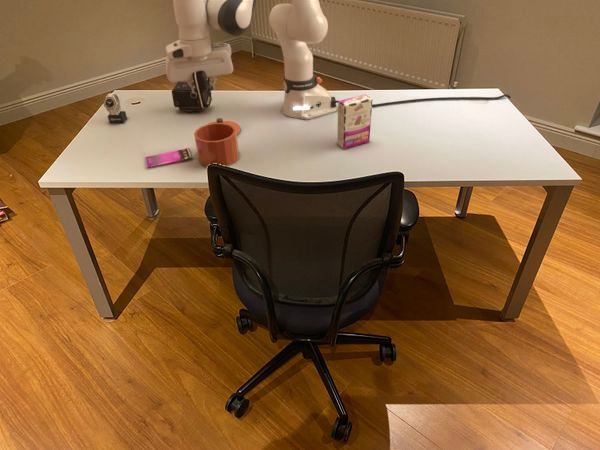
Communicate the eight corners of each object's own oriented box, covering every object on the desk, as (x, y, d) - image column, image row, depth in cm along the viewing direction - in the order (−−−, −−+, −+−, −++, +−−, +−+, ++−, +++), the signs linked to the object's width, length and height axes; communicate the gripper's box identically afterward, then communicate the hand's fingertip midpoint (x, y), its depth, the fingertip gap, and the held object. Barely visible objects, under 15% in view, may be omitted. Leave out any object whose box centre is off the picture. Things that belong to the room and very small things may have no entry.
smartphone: (192, 159, 150) (192, 157, 149) (148, 168, 146) (147, 166, 145) (189, 149, 155) (188, 147, 155) (146, 158, 151) (145, 155, 151)
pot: (233, 144, 158) (230, 120, 152) (243, 162, 148) (240, 137, 142) (195, 151, 154) (191, 127, 148) (203, 170, 145) (198, 145, 139)
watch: (108, 125, 171) (99, 98, 164) (115, 116, 178) (107, 90, 171) (122, 125, 171) (114, 98, 164) (129, 116, 177) (121, 90, 170)
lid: (235, 120, 173) (233, 108, 170) (244, 136, 162) (243, 124, 159) (198, 127, 169) (196, 114, 166) (205, 144, 158) (203, 131, 155)
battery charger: (211, 108, 138) (204, 72, 131) (200, 109, 138) (191, 73, 131) (214, 98, 143) (207, 64, 136) (203, 99, 144) (195, 65, 136)
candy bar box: (361, 136, 161) (365, 93, 151) (369, 142, 158) (373, 98, 147) (335, 143, 157) (337, 100, 147) (343, 149, 154) (345, 105, 143)
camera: (175, 118, 178) (211, 114, 176) (167, 91, 171) (204, 87, 169) (182, 107, 186) (216, 103, 184) (174, 81, 179) (209, 77, 177)
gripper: (227, 38, 135) (233, 82, 143) (160, 47, 129) (170, 92, 138) (232, 44, 130) (237, 89, 139) (162, 54, 125) (172, 100, 133)
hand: (203, 91), depth 138 cm, fingers closed on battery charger, 4 cm apart
